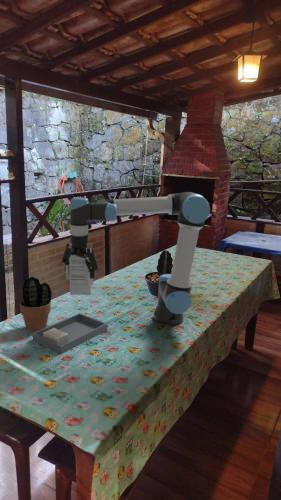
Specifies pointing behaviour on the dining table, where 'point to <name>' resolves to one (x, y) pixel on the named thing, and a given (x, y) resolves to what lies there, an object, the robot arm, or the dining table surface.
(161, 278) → the robot arm
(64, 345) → the grey shallow rectangular tray
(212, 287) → the dining table surface
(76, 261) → the supplement box
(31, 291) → the potted plant
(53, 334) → the beige block
